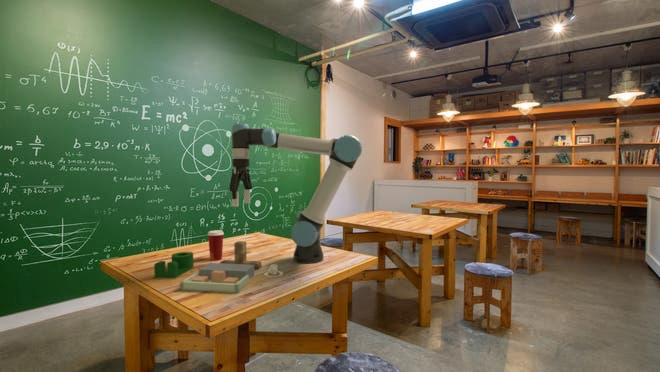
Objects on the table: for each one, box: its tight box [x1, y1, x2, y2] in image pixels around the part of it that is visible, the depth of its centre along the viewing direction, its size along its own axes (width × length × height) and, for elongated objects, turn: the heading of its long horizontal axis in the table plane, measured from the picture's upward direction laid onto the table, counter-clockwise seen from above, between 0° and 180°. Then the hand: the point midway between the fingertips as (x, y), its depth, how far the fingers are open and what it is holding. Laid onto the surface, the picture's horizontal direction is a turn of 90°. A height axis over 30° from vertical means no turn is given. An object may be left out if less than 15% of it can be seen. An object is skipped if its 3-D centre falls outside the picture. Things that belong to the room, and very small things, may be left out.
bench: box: [198, 262, 255, 281], centre depth 134 cm, size 20×9×4 cm, turn 83°
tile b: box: [211, 270, 225, 283], centre depth 126 cm, size 4×4×2 cm
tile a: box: [222, 277, 239, 284], centre depth 123 cm, size 4×4×2 cm
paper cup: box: [206, 229, 225, 262], centre depth 161 cm, size 8×8×14 cm
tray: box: [179, 272, 250, 294], centre depth 124 cm, size 22×11×3 cm, turn 82°
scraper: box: [219, 240, 262, 271], centre depth 147 cm, size 18×4×12 cm, turn 83°
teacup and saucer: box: [263, 264, 284, 278], centre depth 139 cm, size 9×8×4 cm
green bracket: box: [153, 251, 194, 279], centre depth 143 cm, size 18×9×6 cm, turn 174°
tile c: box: [191, 276, 208, 282], centre depth 124 cm, size 4×4×2 cm
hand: (241, 204), depth 148 cm, fingers open, 13 cm apart
